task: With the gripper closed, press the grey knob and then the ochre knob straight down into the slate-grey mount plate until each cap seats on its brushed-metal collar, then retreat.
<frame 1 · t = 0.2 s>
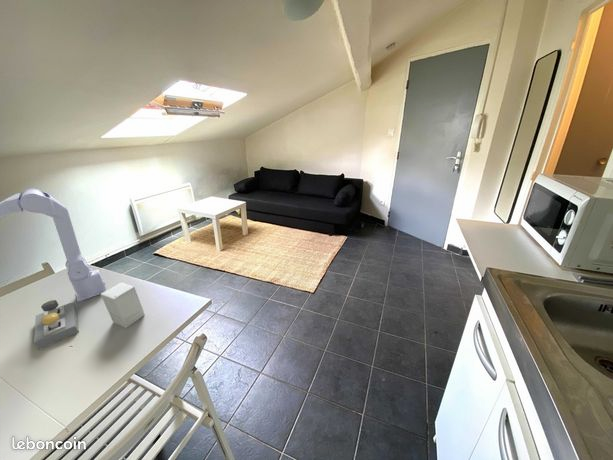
knob 2: (52, 309, 91), point 5 cm above the table, slide at 0.0 cm
supplement box: (129, 318, 93), on the table
mount plate: (58, 326, 90), on the table
knob 1: (52, 322, 85), point 5 cm above the table, slide at 0.0 cm
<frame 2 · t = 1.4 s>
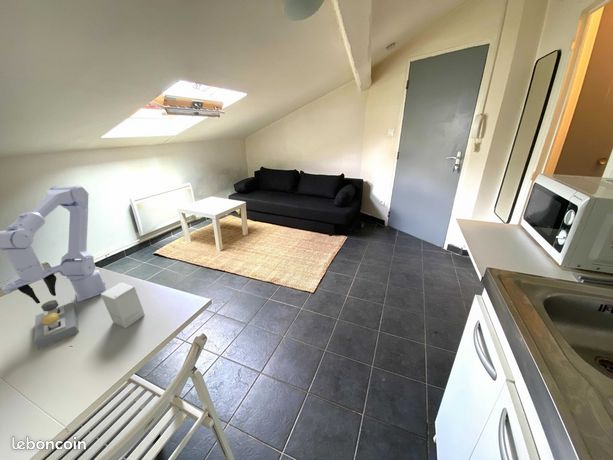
hand: (45, 298, 89), 10 cm above the table, fingers open, 4 cm apart
nothing on the table moved.
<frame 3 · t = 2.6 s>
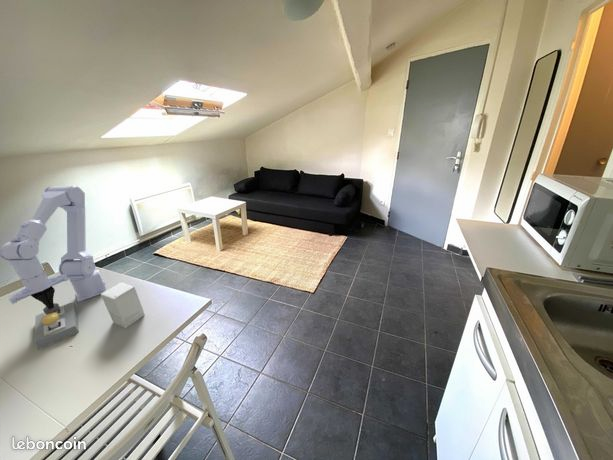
hand: (50, 307, 91), 6 cm above the table, fingers closed, pressing on knob 2
knob 2: (53, 312, 92), point 4 cm above the table, slide at 1.4 cm, touching gripper
everything else where it was.
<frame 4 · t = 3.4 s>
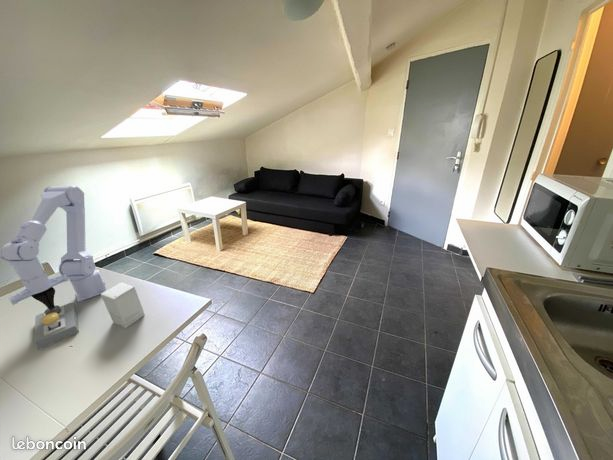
hand: (51, 307, 91), 6 cm above the table, fingers closed
knob 2: (55, 314, 92), point 3 cm above the table, slide at 2.4 cm, touching mount plate
everything else where it was.
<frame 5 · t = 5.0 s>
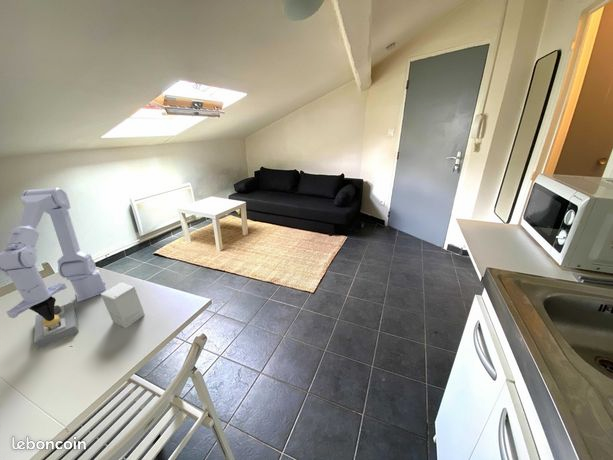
hand: (50, 319, 85), 7 cm above the table, fingers closed, pressing on knob 1
knob 1: (53, 324, 86), point 4 cm above the table, slide at 0.9 cm, touching gripper
everything else where it was.
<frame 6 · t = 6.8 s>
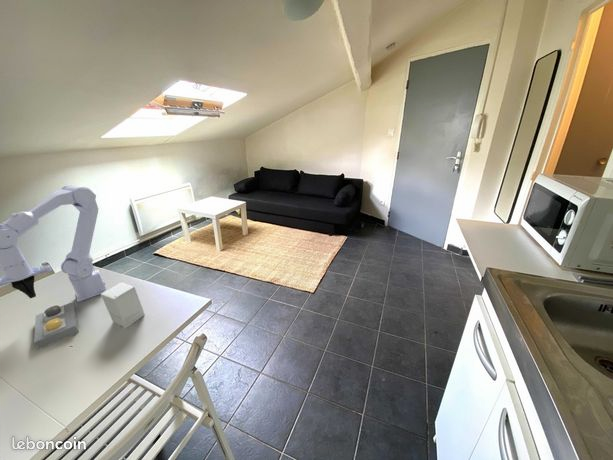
hand: (33, 296, 90), 10 cm above the table, fingers closed
knob 1: (55, 328, 86), point 3 cm above the table, slide at 2.4 cm, touching mount plate
everything else where it was.
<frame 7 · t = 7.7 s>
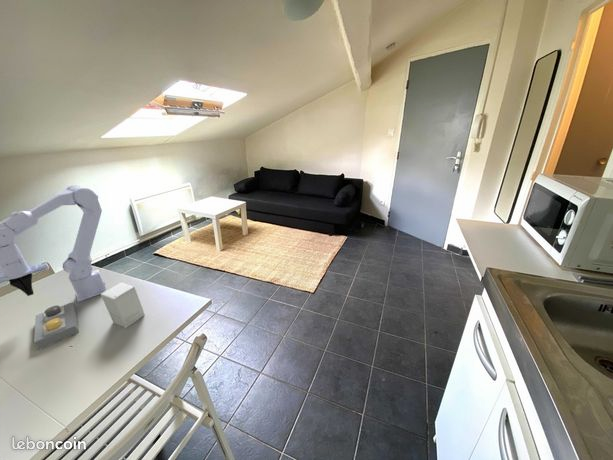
hand: (30, 293, 91), 10 cm above the table, fingers closed
nothing on the table moved.
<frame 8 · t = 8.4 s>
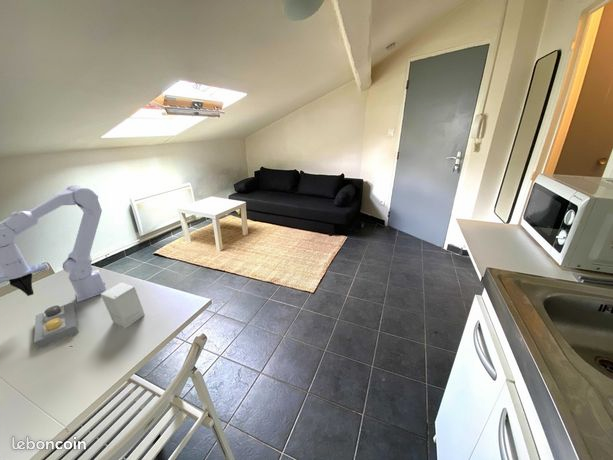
hand: (30, 293, 91), 10 cm above the table, fingers closed
nothing on the table moved.
at the end: knob 2 slide at 2.4 cm; knob 1 slide at 2.4 cm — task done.
